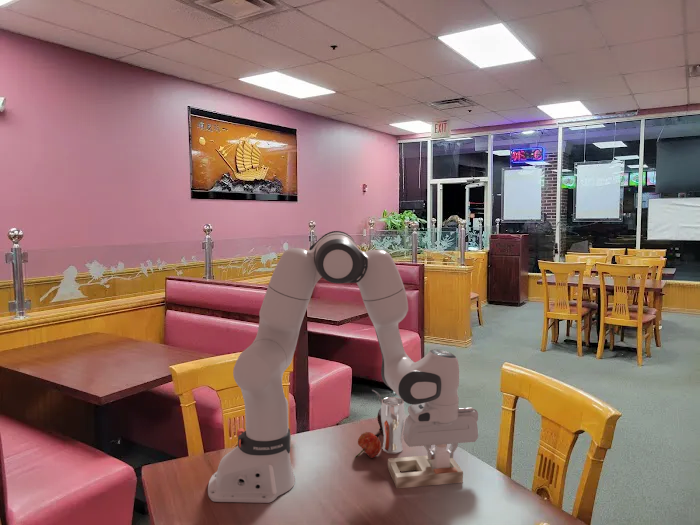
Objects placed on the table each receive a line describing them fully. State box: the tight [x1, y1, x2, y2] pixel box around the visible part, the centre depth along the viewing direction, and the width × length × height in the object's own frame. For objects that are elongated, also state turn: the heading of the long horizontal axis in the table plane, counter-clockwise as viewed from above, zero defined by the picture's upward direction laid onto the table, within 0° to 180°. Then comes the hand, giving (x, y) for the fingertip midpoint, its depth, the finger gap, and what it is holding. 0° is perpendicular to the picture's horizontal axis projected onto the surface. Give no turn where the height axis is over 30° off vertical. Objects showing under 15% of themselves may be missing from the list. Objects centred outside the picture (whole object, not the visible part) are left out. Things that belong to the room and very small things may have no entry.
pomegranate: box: [355, 431, 382, 459], centre depth 151 cm, size 7×7×10 cm
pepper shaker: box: [431, 444, 450, 470], centre depth 140 cm, size 4×4×10 cm
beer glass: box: [380, 396, 405, 455], centre depth 154 cm, size 7×7×15 cm
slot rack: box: [387, 454, 464, 489], centre depth 140 cm, size 18×10×3 cm, turn 99°
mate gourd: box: [371, 389, 384, 437], centre depth 165 cm, size 8×8×15 cm
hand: (440, 458), depth 141 cm, fingers closed on pepper shaker, 4 cm apart
